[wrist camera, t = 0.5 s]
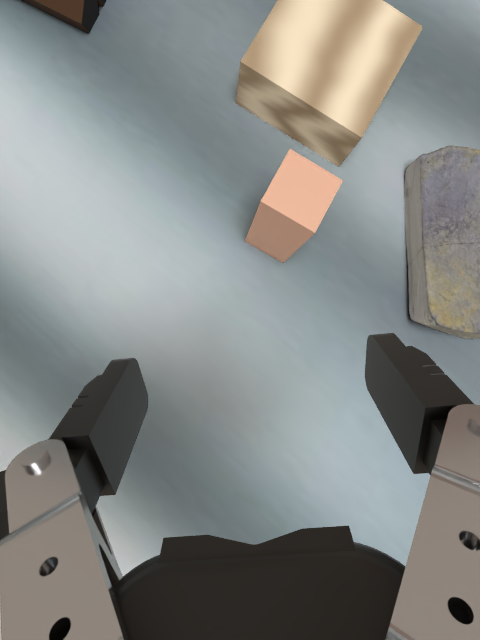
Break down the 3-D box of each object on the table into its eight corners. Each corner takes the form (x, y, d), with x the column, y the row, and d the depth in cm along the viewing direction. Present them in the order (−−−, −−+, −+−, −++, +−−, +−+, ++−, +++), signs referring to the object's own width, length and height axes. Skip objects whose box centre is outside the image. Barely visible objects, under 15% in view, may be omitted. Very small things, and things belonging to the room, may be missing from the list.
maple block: (235, 105, 37) (240, 61, 31) (292, 10, 39) (307, -50, 33) (337, 168, 38) (361, 137, 32) (390, 73, 39) (422, 27, 34)
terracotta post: (244, 241, 36) (260, 201, 25) (265, 203, 37) (289, 148, 26) (283, 263, 37) (315, 232, 26) (303, 225, 37) (342, 180, 26)
